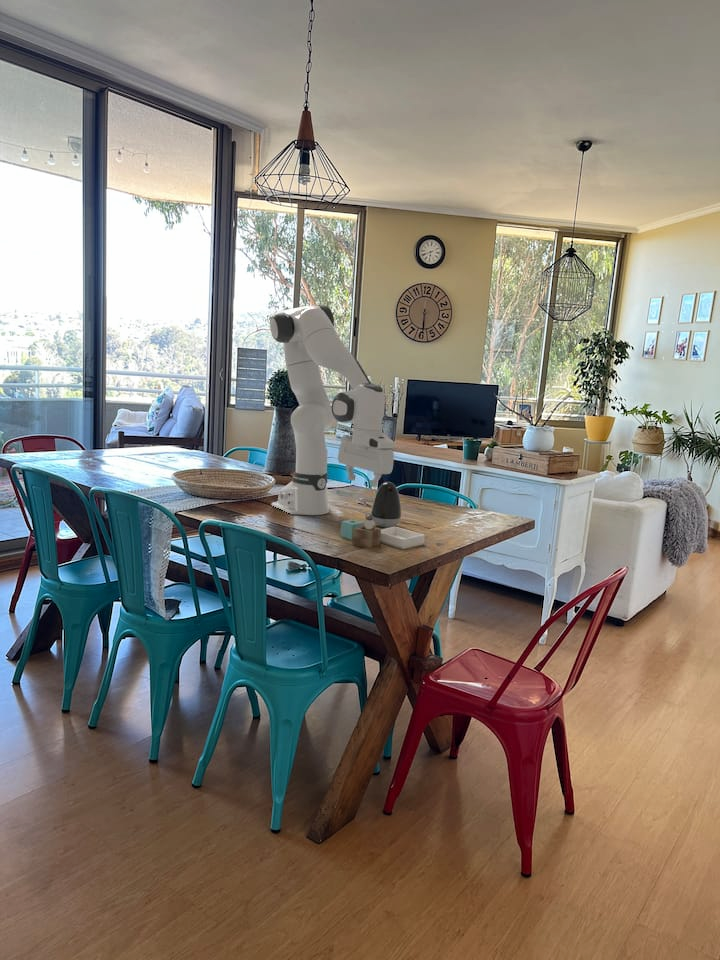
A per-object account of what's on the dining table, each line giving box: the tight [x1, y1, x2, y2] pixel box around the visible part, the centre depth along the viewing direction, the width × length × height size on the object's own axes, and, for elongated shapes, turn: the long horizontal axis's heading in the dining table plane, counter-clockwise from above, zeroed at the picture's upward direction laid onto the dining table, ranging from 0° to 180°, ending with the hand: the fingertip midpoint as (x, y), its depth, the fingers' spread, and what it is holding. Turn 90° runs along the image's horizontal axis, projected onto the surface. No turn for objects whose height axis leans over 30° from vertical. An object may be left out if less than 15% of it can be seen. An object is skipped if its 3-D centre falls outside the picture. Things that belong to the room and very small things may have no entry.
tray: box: [380, 526, 426, 550], centre depth 215 cm, size 12×10×3 cm
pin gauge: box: [364, 514, 374, 530], centre depth 210 cm, size 2×2×9 cm
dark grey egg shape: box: [370, 481, 402, 529], centre depth 234 cm, size 10×10×15 cm
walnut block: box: [352, 524, 382, 549], centre depth 211 cm, size 6×6×5 cm
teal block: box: [340, 519, 365, 541], centre depth 218 cm, size 5×5×5 cm
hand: (362, 483), depth 212 cm, fingers open, 8 cm apart
